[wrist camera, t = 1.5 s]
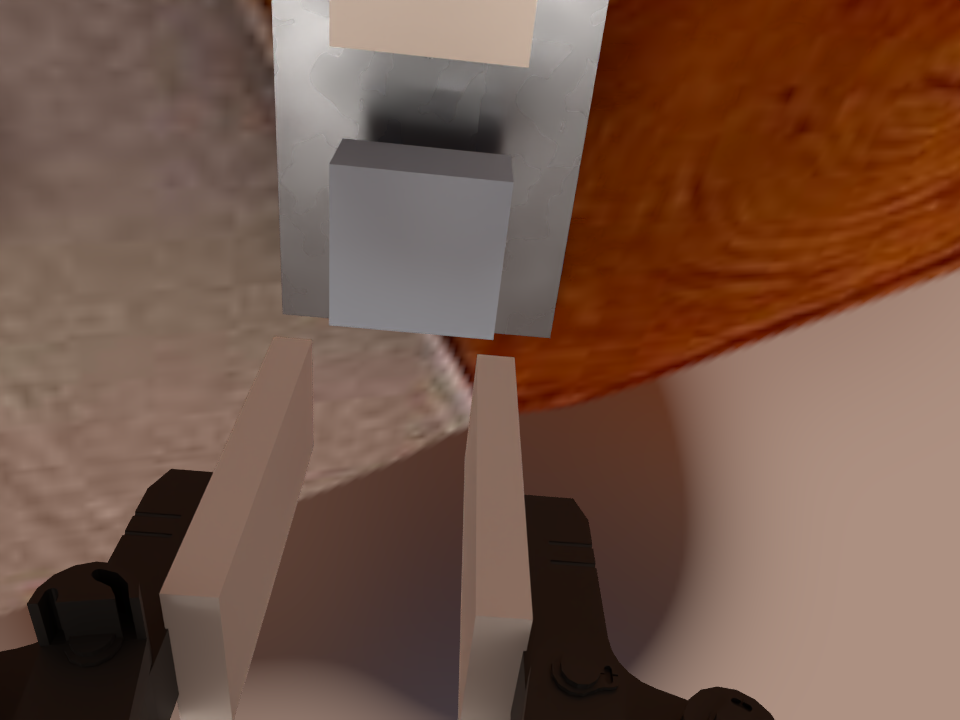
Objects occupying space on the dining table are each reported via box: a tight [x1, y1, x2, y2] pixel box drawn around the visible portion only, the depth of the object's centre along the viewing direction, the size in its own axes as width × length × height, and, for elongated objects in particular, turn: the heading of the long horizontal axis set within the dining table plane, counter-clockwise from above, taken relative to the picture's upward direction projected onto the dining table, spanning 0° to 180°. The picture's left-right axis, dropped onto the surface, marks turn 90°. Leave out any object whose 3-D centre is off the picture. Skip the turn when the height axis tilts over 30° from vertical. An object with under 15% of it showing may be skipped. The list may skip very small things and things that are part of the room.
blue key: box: [329, 138, 514, 340], centre depth 25 cm, size 5×5×5 cm
